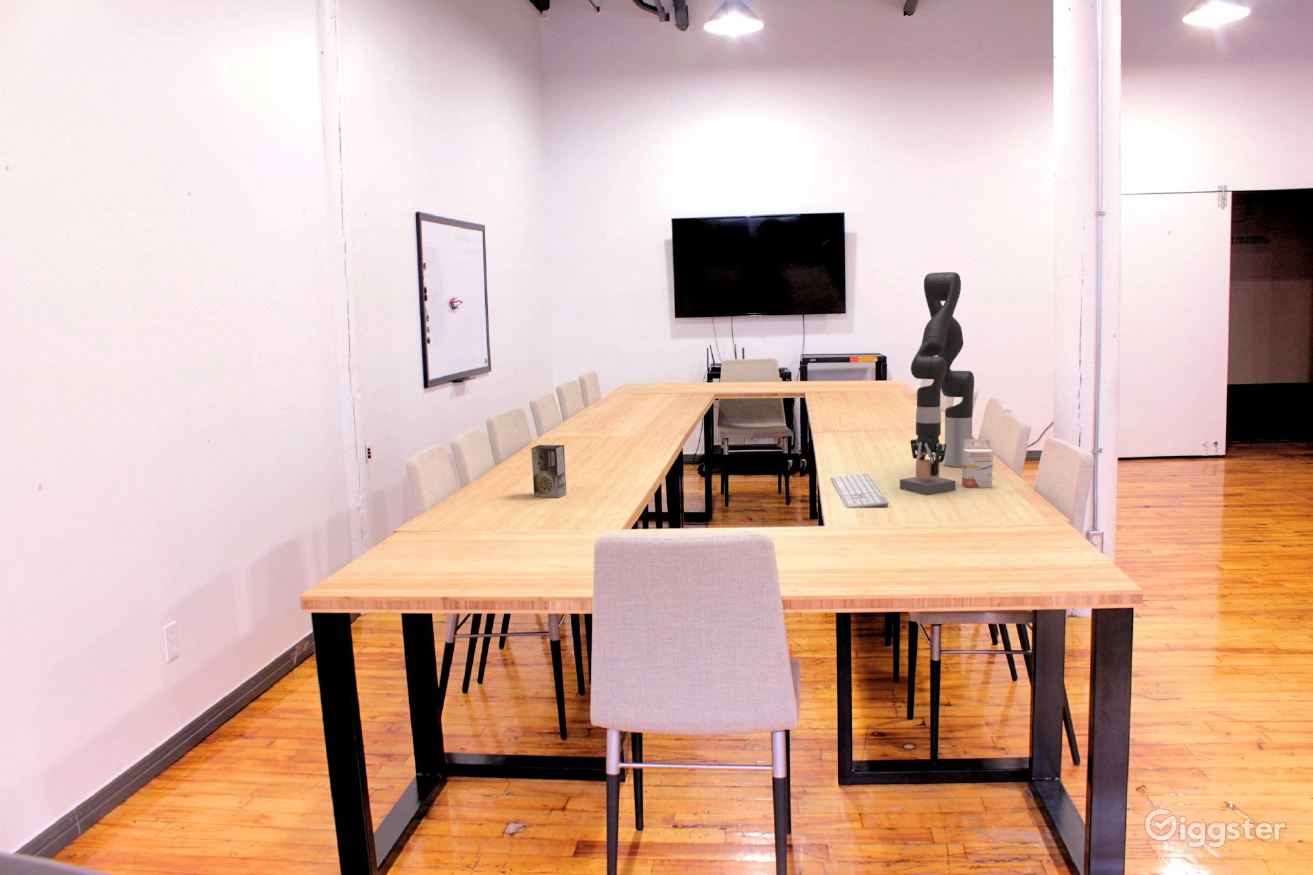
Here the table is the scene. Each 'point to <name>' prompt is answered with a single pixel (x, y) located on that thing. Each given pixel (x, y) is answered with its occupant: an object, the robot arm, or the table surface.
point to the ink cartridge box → (977, 464)
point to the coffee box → (548, 470)
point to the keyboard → (859, 491)
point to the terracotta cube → (925, 469)
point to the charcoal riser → (927, 485)
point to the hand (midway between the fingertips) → (927, 473)
